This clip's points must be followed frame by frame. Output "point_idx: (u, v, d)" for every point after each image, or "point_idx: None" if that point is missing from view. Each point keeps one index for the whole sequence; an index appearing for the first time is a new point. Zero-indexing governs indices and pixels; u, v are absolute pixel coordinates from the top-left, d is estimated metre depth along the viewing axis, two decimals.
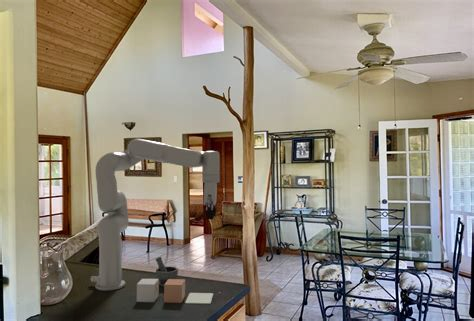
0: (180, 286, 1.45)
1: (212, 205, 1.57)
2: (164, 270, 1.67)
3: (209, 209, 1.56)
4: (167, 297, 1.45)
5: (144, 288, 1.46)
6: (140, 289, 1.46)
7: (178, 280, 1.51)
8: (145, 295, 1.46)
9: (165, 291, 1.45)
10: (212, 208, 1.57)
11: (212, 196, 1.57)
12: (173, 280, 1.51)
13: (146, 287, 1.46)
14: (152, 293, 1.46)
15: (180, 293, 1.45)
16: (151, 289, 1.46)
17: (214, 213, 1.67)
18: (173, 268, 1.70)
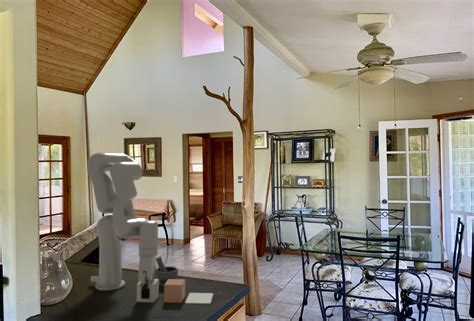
0: (180, 286, 1.45)
1: (148, 283, 1.45)
2: (164, 270, 1.67)
3: (144, 288, 1.44)
4: (167, 297, 1.45)
5: None
6: (140, 289, 1.46)
7: (178, 280, 1.51)
8: None
9: (165, 291, 1.45)
10: (148, 287, 1.45)
11: (147, 272, 1.44)
12: (173, 280, 1.51)
13: None
14: (152, 293, 1.46)
15: (180, 293, 1.45)
16: (151, 289, 1.46)
17: None
18: (173, 268, 1.70)
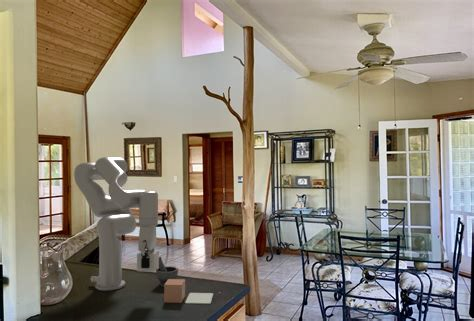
0: (180, 286, 1.45)
1: (148, 253, 1.45)
2: (164, 270, 1.67)
3: (144, 257, 1.44)
4: (167, 297, 1.45)
5: None
6: (140, 259, 1.46)
7: (178, 280, 1.51)
8: None
9: (165, 291, 1.45)
10: (148, 256, 1.45)
11: (147, 242, 1.44)
12: (173, 280, 1.51)
13: None
14: (152, 263, 1.46)
15: (180, 293, 1.45)
16: (151, 259, 1.46)
17: None
18: (173, 268, 1.70)
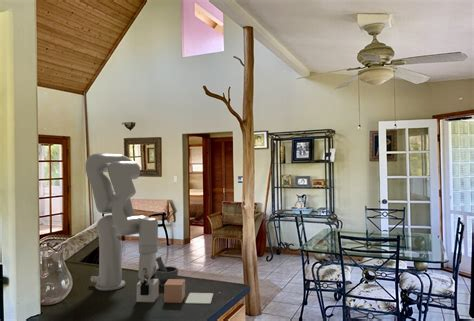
0: (180, 286, 1.45)
1: (147, 280, 1.44)
2: (164, 270, 1.67)
3: (143, 285, 1.43)
4: (167, 297, 1.45)
5: None
6: (139, 289, 1.46)
7: (178, 280, 1.51)
8: (145, 295, 1.46)
9: (165, 291, 1.45)
10: (147, 283, 1.44)
11: (147, 270, 1.44)
12: (173, 280, 1.51)
13: None
14: (152, 293, 1.46)
15: (180, 293, 1.45)
16: (151, 289, 1.46)
17: None
18: (173, 268, 1.70)
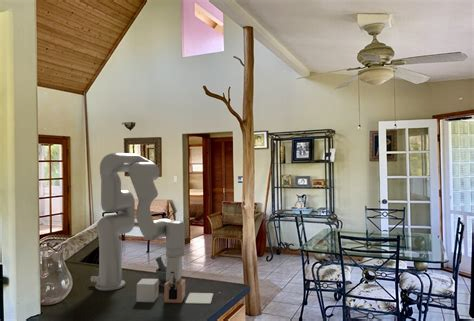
0: (180, 286, 1.45)
1: (175, 284, 1.44)
2: (164, 270, 1.67)
3: (172, 289, 1.43)
4: (167, 297, 1.45)
5: (144, 288, 1.46)
6: (139, 289, 1.46)
7: None
8: (145, 295, 1.46)
9: (165, 291, 1.45)
10: (175, 287, 1.44)
11: (175, 273, 1.44)
12: (173, 280, 1.51)
13: (146, 287, 1.46)
14: (152, 293, 1.46)
15: (180, 293, 1.45)
16: (151, 289, 1.46)
17: None
18: None
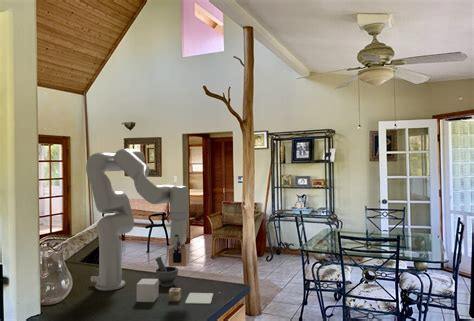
0: (184, 250, 1.45)
1: (180, 247, 1.44)
2: (164, 270, 1.67)
3: (176, 252, 1.44)
4: (171, 261, 1.45)
5: (144, 288, 1.46)
6: (139, 289, 1.46)
7: (182, 245, 1.51)
8: (145, 295, 1.46)
9: (169, 255, 1.45)
10: (180, 251, 1.44)
11: (179, 236, 1.44)
12: None
13: (146, 287, 1.46)
14: (152, 293, 1.46)
15: (184, 257, 1.45)
16: (151, 289, 1.46)
17: None
18: (173, 268, 1.70)
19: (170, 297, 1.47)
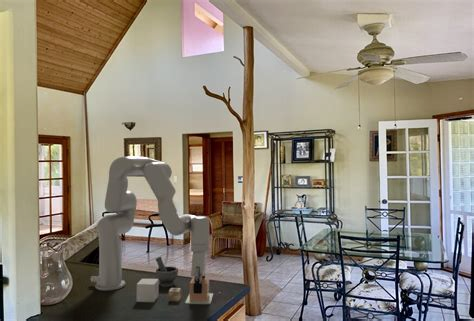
0: (205, 285, 1.46)
1: (200, 278, 1.44)
2: (164, 270, 1.67)
3: (197, 283, 1.43)
4: (192, 296, 1.46)
5: (144, 288, 1.46)
6: (139, 289, 1.46)
7: (202, 279, 1.51)
8: (145, 295, 1.46)
9: (190, 290, 1.46)
10: (200, 281, 1.44)
11: (200, 268, 1.44)
12: None
13: (146, 287, 1.46)
14: (152, 293, 1.46)
15: (205, 292, 1.46)
16: (151, 289, 1.46)
17: None
18: (173, 268, 1.70)
19: (170, 297, 1.47)
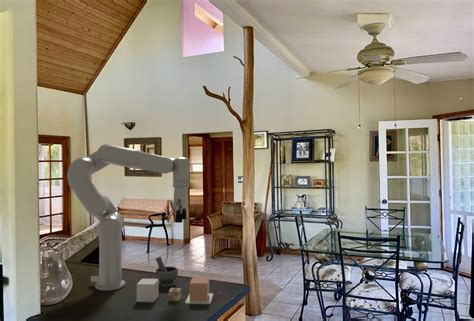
0: (205, 285, 1.46)
1: (181, 209, 1.66)
2: (164, 270, 1.67)
3: (178, 213, 1.65)
4: (192, 296, 1.46)
5: (144, 288, 1.46)
6: (139, 289, 1.46)
7: (202, 279, 1.51)
8: (145, 295, 1.46)
9: (190, 290, 1.46)
10: (181, 212, 1.65)
11: (181, 200, 1.66)
12: (197, 279, 1.51)
13: (146, 287, 1.46)
14: (152, 293, 1.46)
15: (205, 292, 1.46)
16: (151, 289, 1.46)
17: (185, 216, 1.75)
18: (173, 268, 1.70)
19: (170, 297, 1.47)
